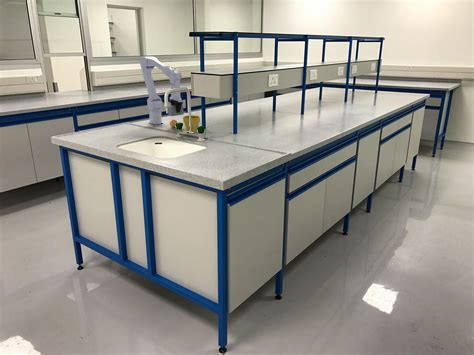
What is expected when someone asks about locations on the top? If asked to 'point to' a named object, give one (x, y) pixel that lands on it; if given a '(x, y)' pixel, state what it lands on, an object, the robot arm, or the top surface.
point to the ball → (173, 123)
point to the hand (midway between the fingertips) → (176, 111)
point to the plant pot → (194, 122)
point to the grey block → (174, 110)
